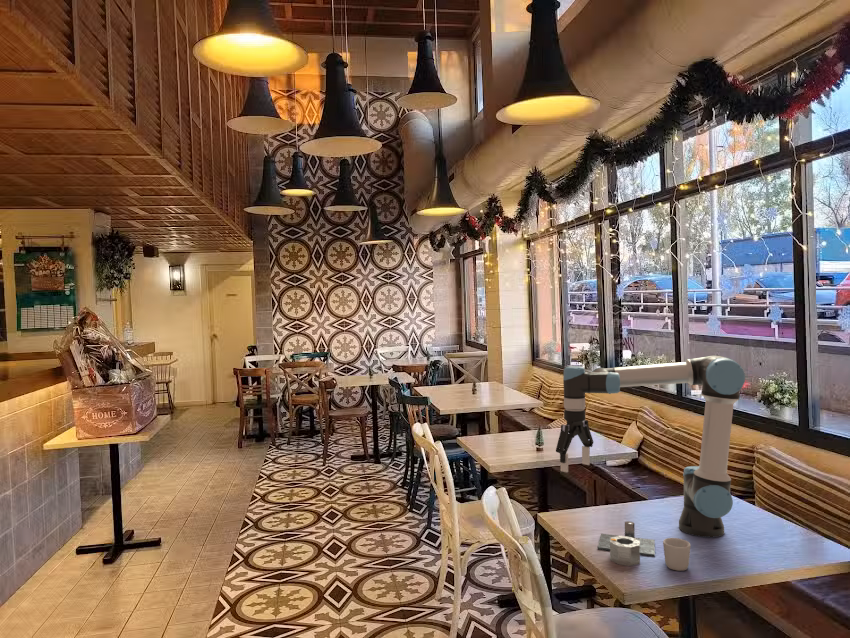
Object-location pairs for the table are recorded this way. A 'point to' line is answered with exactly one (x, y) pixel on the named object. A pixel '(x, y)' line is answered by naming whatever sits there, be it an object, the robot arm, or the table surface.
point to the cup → (676, 553)
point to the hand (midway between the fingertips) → (575, 467)
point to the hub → (625, 550)
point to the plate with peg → (645, 544)
